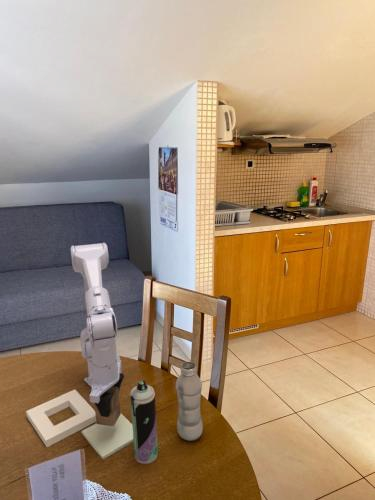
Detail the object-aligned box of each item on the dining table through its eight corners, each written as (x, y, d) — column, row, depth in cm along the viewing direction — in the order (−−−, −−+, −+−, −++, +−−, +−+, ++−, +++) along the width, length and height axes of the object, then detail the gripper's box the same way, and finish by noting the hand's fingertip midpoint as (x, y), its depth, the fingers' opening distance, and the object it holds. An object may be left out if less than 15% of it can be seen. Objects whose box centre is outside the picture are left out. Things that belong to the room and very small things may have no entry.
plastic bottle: (184, 448, 94) (183, 377, 88) (172, 430, 100) (170, 362, 94) (207, 438, 97) (207, 369, 91) (194, 421, 103) (193, 355, 97)
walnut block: (104, 411, 100) (101, 385, 98) (120, 413, 99) (118, 386, 97) (96, 424, 96) (93, 396, 94) (113, 426, 95) (111, 398, 93)
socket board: (75, 395, 114) (74, 389, 114) (98, 420, 104) (97, 414, 103) (27, 417, 106) (26, 411, 105) (46, 447, 95) (45, 440, 95)
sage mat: (119, 413, 106) (119, 411, 106) (142, 436, 98) (141, 433, 98) (81, 433, 100) (81, 431, 99) (102, 459, 91) (102, 456, 91)
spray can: (148, 467, 89) (143, 393, 83) (129, 457, 92) (124, 385, 86) (162, 451, 93) (159, 379, 88) (144, 442, 96) (139, 372, 90)
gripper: (101, 343, 100) (106, 388, 104) (74, 376, 87) (80, 427, 91) (127, 345, 99) (131, 391, 103) (104, 380, 85) (109, 431, 89)
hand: (109, 408), depth 97 cm, fingers closed on walnut block, 4 cm apart
